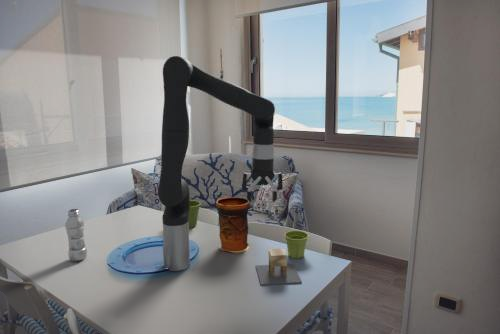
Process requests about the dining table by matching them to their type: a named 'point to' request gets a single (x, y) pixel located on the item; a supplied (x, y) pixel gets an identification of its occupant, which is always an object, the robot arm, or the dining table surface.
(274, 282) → the mat
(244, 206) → the vessel
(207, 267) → the dining table surface
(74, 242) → the plastic bottle
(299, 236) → the plant pot
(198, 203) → the plant pot
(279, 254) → the notched wooden block
